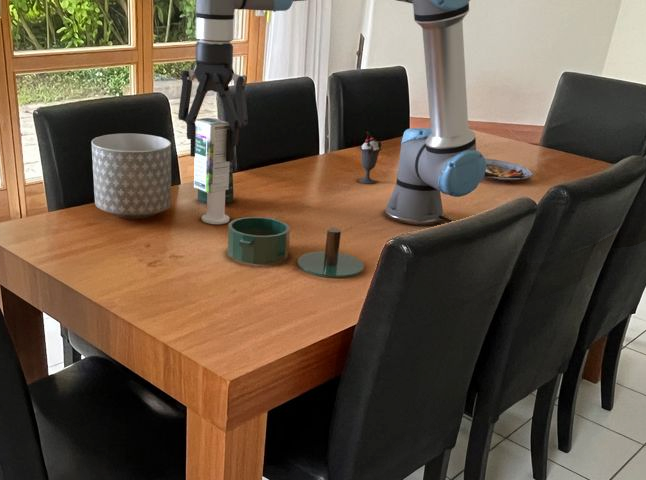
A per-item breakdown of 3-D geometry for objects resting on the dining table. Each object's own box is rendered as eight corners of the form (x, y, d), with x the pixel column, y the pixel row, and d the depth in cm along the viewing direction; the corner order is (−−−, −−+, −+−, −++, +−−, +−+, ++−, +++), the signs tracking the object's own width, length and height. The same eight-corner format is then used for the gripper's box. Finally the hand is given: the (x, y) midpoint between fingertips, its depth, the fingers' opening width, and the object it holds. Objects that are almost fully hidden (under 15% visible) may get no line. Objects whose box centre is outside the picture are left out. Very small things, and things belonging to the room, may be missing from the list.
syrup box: (192, 187, 164) (193, 119, 156) (214, 184, 167) (215, 116, 160) (208, 194, 160) (209, 124, 153) (230, 190, 163) (232, 121, 156)
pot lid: (369, 262, 169) (374, 225, 164) (355, 285, 157) (360, 245, 152) (307, 252, 172) (310, 215, 168) (288, 273, 160) (291, 234, 156)
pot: (298, 247, 175) (300, 219, 172) (272, 274, 159) (274, 244, 156) (243, 238, 179) (245, 210, 175) (213, 264, 163) (214, 234, 159)
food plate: (539, 187, 234) (542, 176, 233) (466, 183, 234) (468, 171, 232) (517, 167, 256) (519, 157, 254) (450, 163, 256) (451, 153, 254)
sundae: (353, 182, 228) (359, 132, 220) (359, 177, 233) (365, 128, 226) (374, 185, 226) (380, 135, 218) (379, 180, 231) (386, 131, 224)
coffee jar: (213, 208, 198) (214, 136, 189) (192, 201, 203) (193, 130, 193) (238, 201, 204) (241, 132, 195) (218, 195, 209) (220, 126, 200)
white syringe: (219, 226, 185) (221, 122, 173) (196, 220, 188) (197, 117, 176) (234, 219, 191) (238, 118, 178) (212, 214, 194) (214, 113, 181)
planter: (79, 214, 188) (74, 140, 179) (134, 199, 201) (132, 130, 192) (133, 232, 178) (130, 155, 169) (186, 215, 192) (187, 143, 183)
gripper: (268, 44, 149) (262, 160, 161) (175, 36, 155) (176, 148, 166) (256, 48, 143) (250, 167, 154) (160, 38, 148) (161, 155, 160)
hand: (212, 157), depth 160 cm, fingers closed on syrup box, 7 cm apart
